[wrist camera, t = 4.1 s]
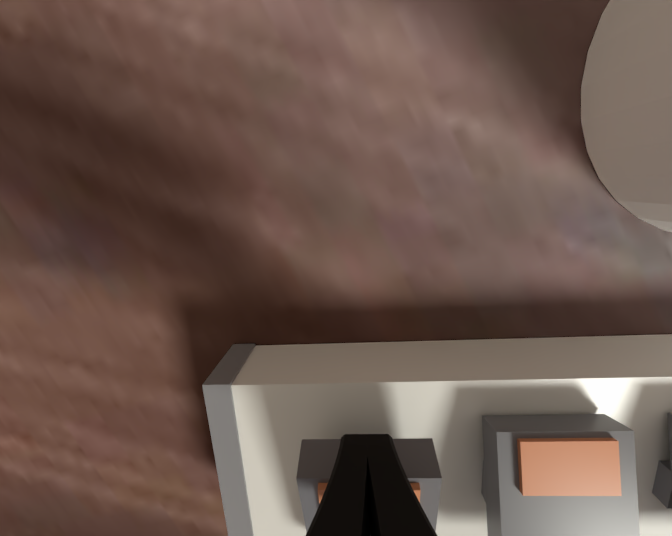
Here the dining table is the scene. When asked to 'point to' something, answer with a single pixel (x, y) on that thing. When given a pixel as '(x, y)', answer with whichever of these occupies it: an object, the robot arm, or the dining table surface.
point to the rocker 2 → (559, 476)
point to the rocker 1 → (413, 457)
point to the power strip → (427, 413)
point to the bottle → (632, 106)
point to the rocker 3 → (670, 439)
